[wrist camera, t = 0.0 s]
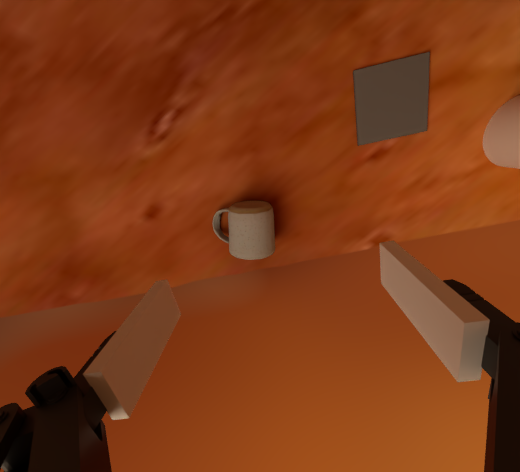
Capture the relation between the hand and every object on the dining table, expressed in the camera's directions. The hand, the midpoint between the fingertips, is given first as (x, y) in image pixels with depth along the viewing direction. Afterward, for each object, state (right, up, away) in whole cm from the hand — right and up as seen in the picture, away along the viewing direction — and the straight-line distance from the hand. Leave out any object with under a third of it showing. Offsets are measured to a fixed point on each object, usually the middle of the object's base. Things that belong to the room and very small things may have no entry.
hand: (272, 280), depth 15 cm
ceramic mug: (-3, +5, +29) cm, 29 cm away
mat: (+18, +22, +21) cm, 35 cm away
